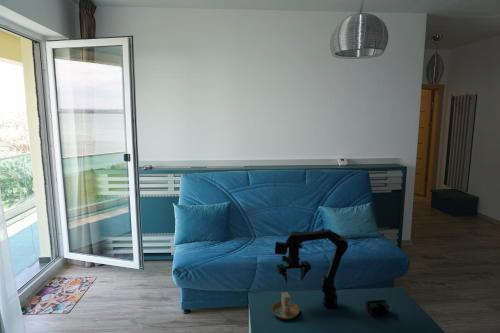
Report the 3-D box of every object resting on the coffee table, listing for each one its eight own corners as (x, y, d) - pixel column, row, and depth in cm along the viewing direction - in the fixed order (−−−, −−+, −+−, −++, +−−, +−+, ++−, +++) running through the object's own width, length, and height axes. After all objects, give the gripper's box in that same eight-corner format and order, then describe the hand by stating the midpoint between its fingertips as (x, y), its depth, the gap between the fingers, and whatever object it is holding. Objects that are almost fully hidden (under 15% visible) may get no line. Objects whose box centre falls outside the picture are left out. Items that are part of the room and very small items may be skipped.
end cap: (382, 308, 178) (383, 297, 177) (389, 316, 172) (390, 304, 170) (364, 309, 178) (365, 298, 176) (370, 317, 171) (371, 305, 169)
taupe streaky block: (286, 305, 178) (286, 291, 177) (290, 311, 173) (290, 296, 172) (281, 306, 177) (281, 292, 176) (284, 311, 172) (284, 297, 171)
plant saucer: (298, 323, 167) (298, 319, 166) (269, 320, 170) (269, 315, 169) (300, 307, 181) (300, 302, 181) (273, 304, 184) (273, 300, 184)
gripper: (303, 247, 192) (303, 272, 194) (272, 251, 187) (272, 277, 189) (312, 255, 181) (311, 282, 183) (279, 259, 176) (279, 287, 178)
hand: (293, 281), depth 184 cm, fingers open, 9 cm apart
